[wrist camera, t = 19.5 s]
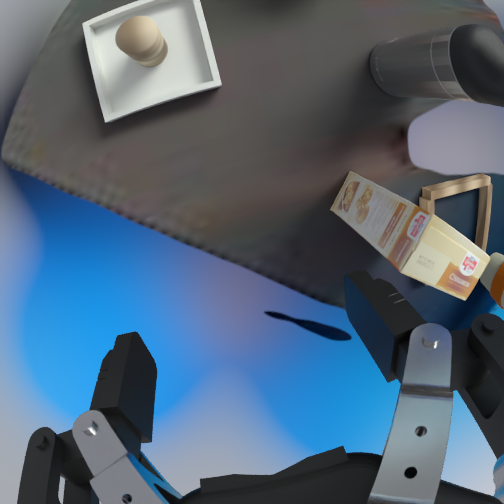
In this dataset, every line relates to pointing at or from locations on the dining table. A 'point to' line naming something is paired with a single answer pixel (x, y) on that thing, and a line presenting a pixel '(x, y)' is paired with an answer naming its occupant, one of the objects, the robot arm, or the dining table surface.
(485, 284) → the reusable coffee cup
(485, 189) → the frame
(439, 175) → the dining table surface
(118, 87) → the tray
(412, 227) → the coffeecake box
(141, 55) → the gauge plug
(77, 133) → the dining table surface
